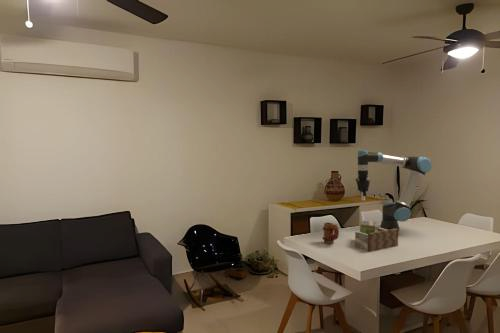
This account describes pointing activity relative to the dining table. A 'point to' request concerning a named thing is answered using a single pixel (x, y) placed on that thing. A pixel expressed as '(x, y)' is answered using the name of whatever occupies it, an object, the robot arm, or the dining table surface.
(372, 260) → the dining table surface
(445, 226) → the dining table surface
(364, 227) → the tea box
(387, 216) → the robot arm
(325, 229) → the reddish-brown rounded piece
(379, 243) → the patterned planter box
